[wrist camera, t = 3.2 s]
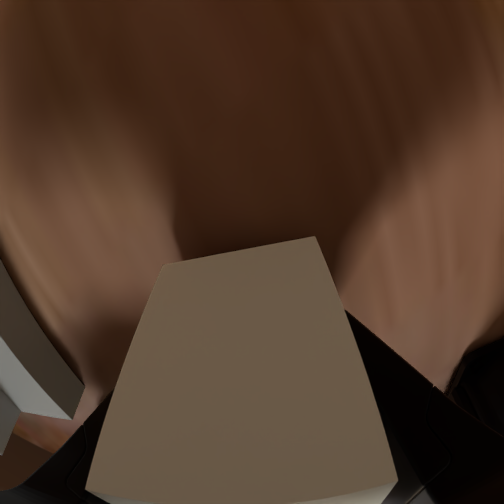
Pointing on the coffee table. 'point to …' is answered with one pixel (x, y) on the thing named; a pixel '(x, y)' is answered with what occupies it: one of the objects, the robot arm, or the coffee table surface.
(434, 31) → the coffee table surface
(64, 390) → the notch board
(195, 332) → the block
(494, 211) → the coffee table surface
